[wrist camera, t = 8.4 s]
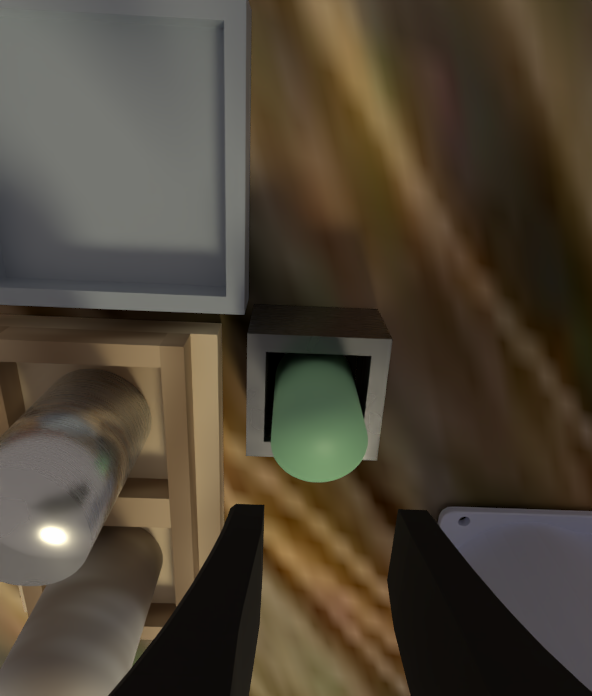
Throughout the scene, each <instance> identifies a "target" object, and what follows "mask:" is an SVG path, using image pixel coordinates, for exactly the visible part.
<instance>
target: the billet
mask: <svg viewBox="0 0 592 696" xmlns="http://www.w3.org/2000/svg"><path fill="white" fill-rule="evenodd" d="M150 431H151V413H150V410H149V407H148V404H147V402H146V400H145V399H144V397H143V396H142V394H141V393H140V392H139V391H138V389H137V388H136V387H134V386H133V385H132V384H131V383H130V382H128V381H127V380H126V379H124V378H122V377H120V376H118V375H116V374H114V373H111V372H108V371H104V370H99V369H81V370H76V371H73V372H70V373H68V374H65V375H64V376H62V377H61V378H59V379H58V380H57V381H56V382H55V383H54V384H53V385H52V386H51V387H50V388H49V389H48V390H47V391H46V392H45V393H44V394H43V395H42V396H41V397H40V398H39V399H38V400H37V401H36V402H35V403H34V404H33V405H32V406H31V407H30V408H29V409H28V410H27V411H26V412H25V413H24V414H23V415H22V416H21V417H20V418H19V419H18V420H17V421H16V422H15V423H14V424H13V425H12V426H11V427H10V428H9V429H8V430H7V431H6V432H5V433H4V434H3V435H2V436H1V437H0V581H1V582H5V583H8V584H13V585H19V586H42V585H48V584H53V583H56V582H59V581H62V580H64V579H66V578H68V577H70V576H71V575H72V574H74V573H75V572H76V571H77V570H78V569H79V568H80V567H81V566H82V565H83V563H84V562H85V560H86V558H87V556H88V555H89V553H90V551H91V549H92V547H93V545H94V543H95V541H96V539H97V537H98V535H99V533H100V531H101V529H102V527H103V525H104V523H105V521H106V519H107V517H108V515H109V513H110V511H111V509H112V507H113V505H114V503H115V502H116V500H117V498H118V496H119V494H120V492H121V490H122V488H123V486H124V484H125V482H126V480H127V478H128V476H129V474H130V472H131V470H132V468H133V466H134V464H135V462H136V460H137V458H138V456H139V454H140V452H141V450H142V449H143V447H144V445H145V443H146V441H147V439H148V437H149V434H150Z"/></svg>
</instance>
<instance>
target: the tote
mask: <svg viewBox="0 0 592 696" xmlns="http://www.w3.org/2000/svg"><path fill="white" fill-rule="evenodd" d="M251 11H252V10H251V7H250V4H249V1H248V0H0V305H19V306H43V307H67V308H91V309H116V310H140V311H164V312H188V313H212V314H236V315H244V314H245V311H246V307H247V303H248V299H249V214H250V113H251Z"/></svg>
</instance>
